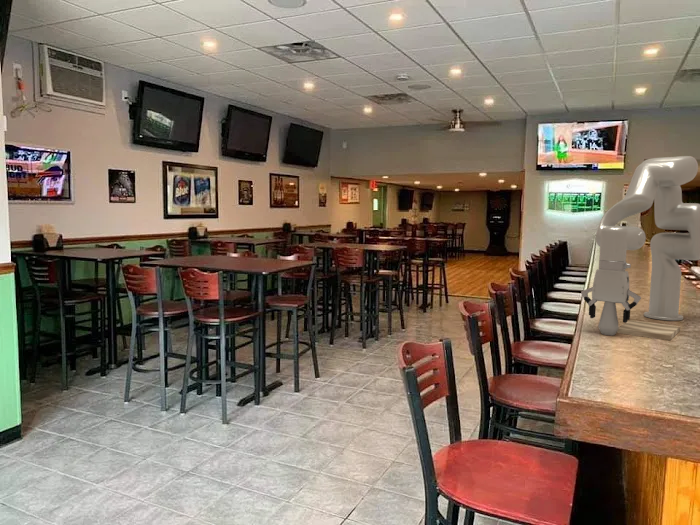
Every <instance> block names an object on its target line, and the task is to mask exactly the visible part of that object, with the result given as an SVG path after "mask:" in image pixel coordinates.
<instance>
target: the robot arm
mask: <svg viewBox="0 0 700 525" xmlns="http://www.w3.org/2000/svg"><path fill="white" fill-rule="evenodd" d="M698 170H699V164H698V161H697V159H696V158H695V157H693V156H691V155H681V156H679V155H678V156H665V157H653V158H648V159H645V160H643V161H642V162H641V163H640V164H639V165H638V166H637V167H636V168H635V170H634V172H633V175H632V177H631V180H630V183H629V185H628V188H627V190H626V193H625V195H624V197H623V199H620V200H619V201H617V202H616V203H615V204H614V205H612V207H610V208H609V209H608V210H607V211H606V212H605V213H604V214H603V215H602V217H601V220H600V222H599V224H598V227H597V229H596V230H597V231H596V234H595V241H596V244H597V245H598V247H599V259H598V269H596V270H595V274H594V278H593V283H592V284H593V285H592V287H589V288H586V289H584V290H581V295H582V298H583V300H584V301H585V302H586V304H587V305H588V315H589V318H590V319H594V318H596V312H597V311H596V307H597V306H596V303H597V302H604V303H605V302H612V303H616V304H620V305H622V307H623V308H624V310H623V313H622V315H623V316H622V323H623V324H624V323H626V322H627V321H629V320H631V319H630V318H631V309H633V308H634V307H636V306H637V305H638V304H639V302H641V299H642V297H641V295H639V294H637V293H635V292H634V291H632V290H631V289H630V275H629V271H627V269H631V267H632V264H631V263H628V262H627V251H636V250H640V249H641V248H642V247H643V246H644V245H645V243H646V240H647V235H646V233H645V230H643V229H642V228H640V227H638V226H627V225H626V226H625V225H617V224H619V222H620V221H622V220H624V219H626V218H629V217H631V216H635V215H638V214H641V213H643V212H646V211H648V210H650V209H651V207H652V206H653V203H654V224H655V225H656V228H658V229H660V230H661V229H662V230H674V231H688V233H686V232H659V233H656V234H654V235H653V236H652V238H651V239H650V241H649V242H650V244H649V245H650V246H649V247H650V253H651V254H650V255H651V272H650V273H651V274H650V289H649V303H648V305H649V306H648V311H645V312H643V316H644V317H645V318H649V319H653V320H661V321H672V322H673V321H676V322H677V321H683V320H684V315H682V314H679V310H680V297H681V284H682V282H681V281H682V270H681V267H680V265H679V263H678V262H677V261H676V260H685V261H699V260H700V203H696V202H694V203H693V202H692V203H691V202H689V203H687V202H685V203H684V202H683V193H682V187H681V186H682V185H685V184H687V183H689V182H691V181H693V180H694V178H695V177H696V176H697V174H698ZM589 293H591V298H592V299H591V298H590V296H588V294H589ZM630 297H631V298H633V301H632V302H631V303H630V302H629V300H630Z"/></svg>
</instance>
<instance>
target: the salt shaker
mask: <svg viewBox="0 0 700 525" xmlns="http://www.w3.org/2000/svg"><path fill="white" fill-rule="evenodd" d="M616 304H617V303H612V302H604V303H603V307H602V311H601V314H600V318H599V322H598V330H599V331H600V333H601V335H603V336H613V337H614V336H616V334H617V333H616V332H617V331H618V328H619V326H620V325H619V319H618V312H617V305H616Z"/></svg>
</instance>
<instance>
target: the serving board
mask: <svg viewBox="0 0 700 525" xmlns="http://www.w3.org/2000/svg"><path fill="white" fill-rule="evenodd" d="M618 326H619V328H618V331H617V332H616V334H617V333H618V334H621V335H622V334H624V335H631V336H636V337H637V336H638V337H642V336H643V337H644V338H650V339H657V340H664V341H671V340H672V339H673V338H674V337H676V335H677V334H678V333H680V331H681V326H680V325H673V324H672V325H671V324H665V323H664V324H663V323H657V322H649V321H640V320H632V319H629V320H628V321H627V322H626V323H623V324H620V325H618ZM643 337H642V338H643Z"/></svg>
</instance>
